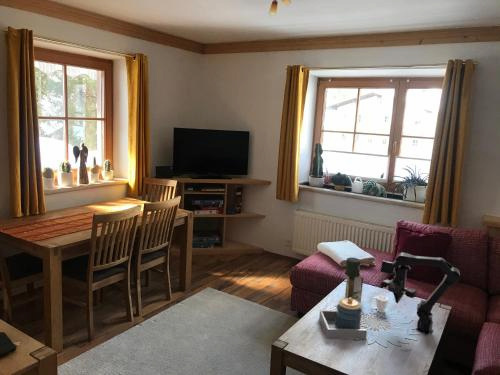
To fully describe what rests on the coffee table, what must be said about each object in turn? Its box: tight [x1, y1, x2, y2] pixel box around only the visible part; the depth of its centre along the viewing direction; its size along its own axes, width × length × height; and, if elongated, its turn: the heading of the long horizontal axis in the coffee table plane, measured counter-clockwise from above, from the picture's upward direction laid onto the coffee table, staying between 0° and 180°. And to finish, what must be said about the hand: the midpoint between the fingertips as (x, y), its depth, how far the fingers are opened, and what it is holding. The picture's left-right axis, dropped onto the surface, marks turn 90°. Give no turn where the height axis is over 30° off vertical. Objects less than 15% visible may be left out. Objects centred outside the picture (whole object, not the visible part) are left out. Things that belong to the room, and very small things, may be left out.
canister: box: [334, 297, 363, 329], centre depth 212 cm, size 13×13×18 cm
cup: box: [369, 294, 389, 313], centre depth 235 cm, size 7×10×8 cm
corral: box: [318, 309, 368, 340], centre depth 212 cm, size 20×20×5 cm
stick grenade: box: [344, 257, 361, 298], centre depth 234 cm, size 8×9×30 cm
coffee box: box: [344, 275, 364, 304], centre depth 246 cm, size 9×6×16 cm
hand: (397, 302), depth 219 cm, fingers closed
